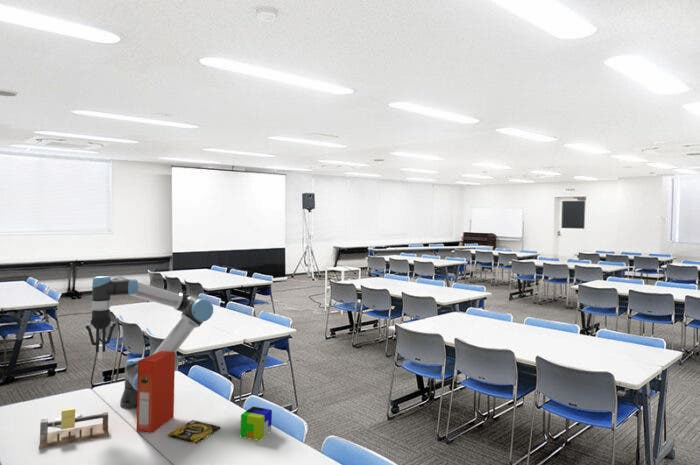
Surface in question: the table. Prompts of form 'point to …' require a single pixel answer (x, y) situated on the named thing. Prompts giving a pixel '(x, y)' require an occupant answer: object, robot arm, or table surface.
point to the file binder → (155, 391)
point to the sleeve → (68, 418)
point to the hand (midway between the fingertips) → (100, 358)
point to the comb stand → (72, 431)
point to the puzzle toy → (256, 423)
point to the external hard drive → (60, 418)
